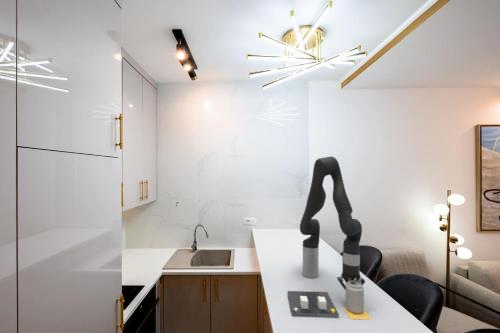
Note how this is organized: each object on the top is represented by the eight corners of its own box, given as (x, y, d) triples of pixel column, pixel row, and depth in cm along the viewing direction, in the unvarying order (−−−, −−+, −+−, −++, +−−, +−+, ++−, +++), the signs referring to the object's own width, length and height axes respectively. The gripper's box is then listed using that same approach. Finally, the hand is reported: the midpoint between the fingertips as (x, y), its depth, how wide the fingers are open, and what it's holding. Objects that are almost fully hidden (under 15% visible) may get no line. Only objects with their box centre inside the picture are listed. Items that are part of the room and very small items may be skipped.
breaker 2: (317, 304, 109) (317, 296, 109) (324, 304, 108) (324, 296, 108) (319, 309, 105) (319, 301, 105) (326, 309, 104) (326, 301, 104)
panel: (287, 293, 121) (287, 288, 121) (327, 295, 120) (327, 289, 120) (291, 316, 103) (291, 309, 103) (338, 317, 102) (338, 311, 102)
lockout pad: (342, 306, 110) (342, 306, 110) (362, 307, 109) (362, 306, 109) (349, 319, 101) (349, 318, 101) (371, 319, 100) (371, 319, 100)
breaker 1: (299, 303, 109) (299, 295, 109) (306, 303, 109) (306, 296, 109) (301, 308, 105) (301, 300, 105) (308, 309, 105) (308, 301, 105)
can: (357, 304, 111) (357, 278, 111) (367, 314, 104) (367, 286, 104) (342, 305, 111) (342, 279, 111) (351, 315, 103) (351, 287, 103)
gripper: (339, 264, 109) (339, 302, 109) (368, 265, 108) (368, 303, 108) (334, 258, 116) (334, 293, 116) (361, 259, 115) (361, 294, 116)
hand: (350, 298), depth 112 cm, fingers closed
